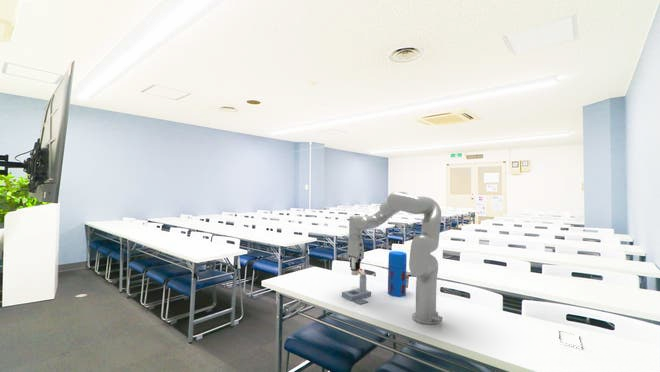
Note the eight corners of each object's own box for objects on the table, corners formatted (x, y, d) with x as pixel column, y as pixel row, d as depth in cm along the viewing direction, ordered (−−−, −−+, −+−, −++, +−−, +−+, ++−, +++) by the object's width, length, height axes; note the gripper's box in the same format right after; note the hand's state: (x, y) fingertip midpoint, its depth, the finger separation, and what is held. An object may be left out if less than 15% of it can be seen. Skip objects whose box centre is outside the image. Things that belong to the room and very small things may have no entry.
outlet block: (370, 296, 173) (371, 277, 173) (351, 301, 164) (352, 281, 164) (360, 291, 180) (361, 274, 180) (341, 296, 171) (342, 277, 172)
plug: (360, 274, 170) (360, 257, 170) (353, 275, 168) (353, 258, 168) (356, 272, 174) (356, 255, 174) (349, 273, 172) (349, 256, 172)
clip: (366, 276, 174) (366, 272, 174) (361, 276, 173) (361, 272, 174) (359, 270, 188) (359, 266, 188) (354, 270, 188) (354, 266, 188)
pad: (368, 302, 163) (368, 301, 163) (360, 304, 159) (360, 303, 159) (360, 299, 167) (360, 298, 168) (352, 301, 164) (352, 300, 164)
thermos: (404, 291, 183) (405, 251, 184) (407, 297, 172) (408, 255, 173) (386, 290, 184) (387, 250, 185) (388, 296, 173) (389, 254, 174)
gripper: (370, 238, 167) (369, 270, 167) (351, 234, 181) (350, 264, 180) (360, 239, 163) (359, 272, 162) (341, 235, 176) (341, 266, 176)
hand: (355, 267), depth 171 cm, fingers closed on plug, 4 cm apart
